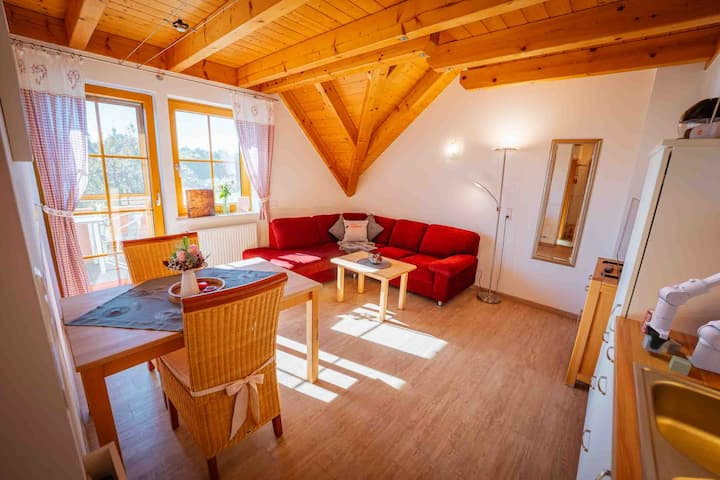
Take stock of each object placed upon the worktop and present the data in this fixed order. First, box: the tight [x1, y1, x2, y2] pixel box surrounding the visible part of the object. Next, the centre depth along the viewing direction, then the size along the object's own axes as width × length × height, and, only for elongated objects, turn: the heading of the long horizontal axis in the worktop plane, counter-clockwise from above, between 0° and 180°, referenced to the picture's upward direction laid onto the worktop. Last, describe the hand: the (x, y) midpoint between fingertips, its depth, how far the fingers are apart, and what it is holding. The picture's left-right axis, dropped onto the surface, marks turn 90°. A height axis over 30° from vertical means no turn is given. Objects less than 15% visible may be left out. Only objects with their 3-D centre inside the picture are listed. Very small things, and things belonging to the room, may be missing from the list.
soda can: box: [639, 308, 656, 336], centre depth 132 cm, size 5×5×12 cm
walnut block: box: [661, 338, 683, 356], centre depth 122 cm, size 4×4×4 cm
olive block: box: [668, 354, 692, 377], centre depth 110 cm, size 4×4×4 cm
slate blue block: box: [642, 335, 664, 355], centre depth 118 cm, size 4×4×4 cm
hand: (652, 345), depth 119 cm, fingers closed on slate blue block, 4 cm apart
